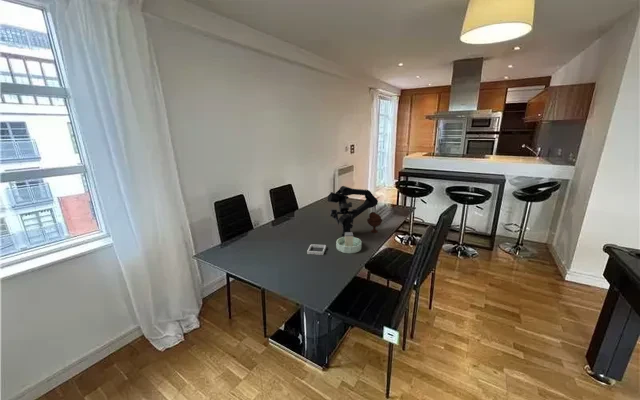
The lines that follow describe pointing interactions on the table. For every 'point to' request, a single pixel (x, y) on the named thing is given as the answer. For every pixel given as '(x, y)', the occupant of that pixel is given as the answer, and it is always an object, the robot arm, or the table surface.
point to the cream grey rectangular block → (348, 239)
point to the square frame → (316, 251)
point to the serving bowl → (341, 247)
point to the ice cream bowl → (374, 221)
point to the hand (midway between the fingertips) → (345, 224)
